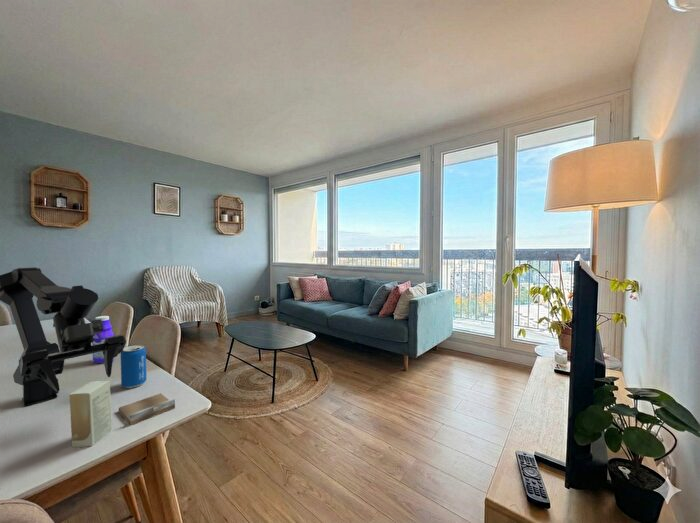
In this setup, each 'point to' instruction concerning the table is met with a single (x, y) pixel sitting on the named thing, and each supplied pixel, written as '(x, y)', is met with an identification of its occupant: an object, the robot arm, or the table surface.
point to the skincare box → (90, 413)
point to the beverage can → (133, 366)
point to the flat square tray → (146, 408)
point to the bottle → (102, 337)
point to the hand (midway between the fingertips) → (85, 383)
